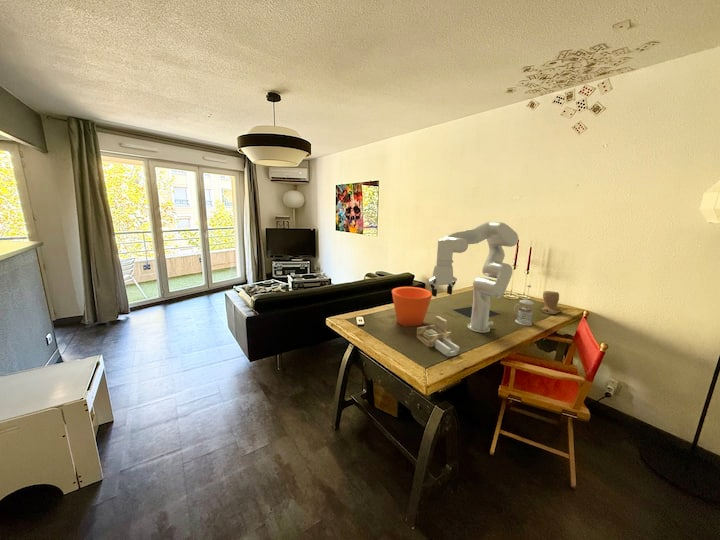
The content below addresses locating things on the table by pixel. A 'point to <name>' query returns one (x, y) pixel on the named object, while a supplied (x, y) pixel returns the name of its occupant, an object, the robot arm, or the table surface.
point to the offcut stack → (428, 333)
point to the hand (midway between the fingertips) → (441, 294)
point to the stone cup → (550, 302)
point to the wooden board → (440, 325)
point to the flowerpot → (411, 305)
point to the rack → (432, 337)
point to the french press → (527, 310)
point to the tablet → (468, 311)
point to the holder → (447, 347)
